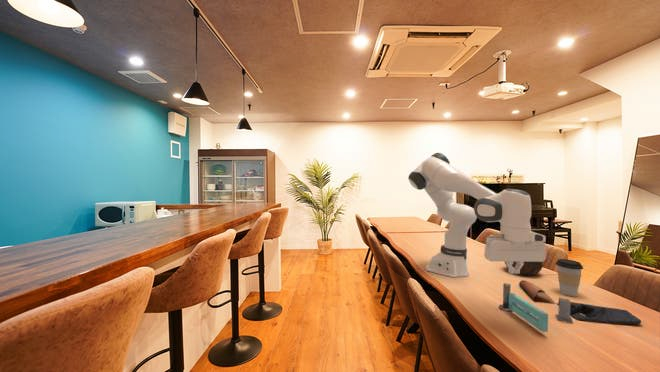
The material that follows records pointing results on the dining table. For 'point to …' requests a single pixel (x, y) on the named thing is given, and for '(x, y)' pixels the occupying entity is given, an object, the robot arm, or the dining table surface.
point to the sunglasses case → (536, 292)
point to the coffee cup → (569, 276)
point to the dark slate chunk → (601, 314)
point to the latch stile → (564, 310)
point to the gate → (528, 312)
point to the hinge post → (506, 298)
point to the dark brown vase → (529, 267)
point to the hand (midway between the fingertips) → (514, 273)
